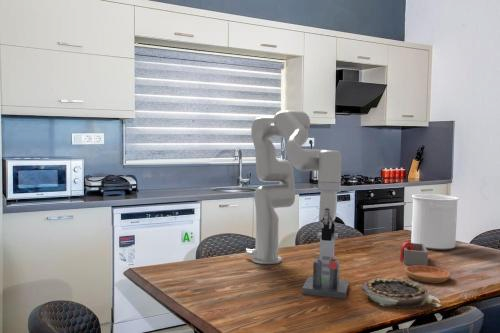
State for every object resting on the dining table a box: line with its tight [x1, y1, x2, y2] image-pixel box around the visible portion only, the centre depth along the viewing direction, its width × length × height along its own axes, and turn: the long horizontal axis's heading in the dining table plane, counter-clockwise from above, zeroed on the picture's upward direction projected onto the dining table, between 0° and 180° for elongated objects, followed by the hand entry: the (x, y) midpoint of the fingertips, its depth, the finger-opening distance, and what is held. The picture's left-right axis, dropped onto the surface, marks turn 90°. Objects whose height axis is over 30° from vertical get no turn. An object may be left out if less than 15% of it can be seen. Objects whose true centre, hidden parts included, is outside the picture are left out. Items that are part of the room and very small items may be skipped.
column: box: [316, 231, 339, 286], centre depth 157 cm, size 6×5×17 cm
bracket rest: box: [402, 241, 429, 266], centre depth 199 cm, size 9×16×6 cm, turn 164°
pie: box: [358, 277, 442, 311], centre depth 151 cm, size 28×27×5 cm
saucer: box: [404, 265, 452, 284], centre depth 175 cm, size 16×16×3 cm
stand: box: [301, 256, 349, 299], centre depth 158 cm, size 14×14×11 cm
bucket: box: [410, 193, 460, 251], centre depth 229 cm, size 26×22×24 cm
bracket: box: [399, 241, 414, 263], centre depth 199 cm, size 12×4×8 cm, turn 121°
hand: (328, 237), depth 157 cm, fingers open, 9 cm apart
